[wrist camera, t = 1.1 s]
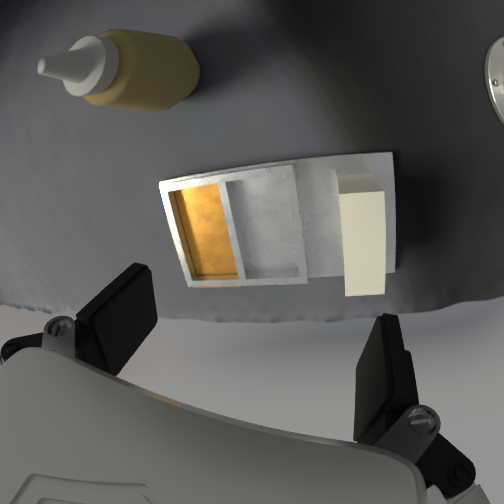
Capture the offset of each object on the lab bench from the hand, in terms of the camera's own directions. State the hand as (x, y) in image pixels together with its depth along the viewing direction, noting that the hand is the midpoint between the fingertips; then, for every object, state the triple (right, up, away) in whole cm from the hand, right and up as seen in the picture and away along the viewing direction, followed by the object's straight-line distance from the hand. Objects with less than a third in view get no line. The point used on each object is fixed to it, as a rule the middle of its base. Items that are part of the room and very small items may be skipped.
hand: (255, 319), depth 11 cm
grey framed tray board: (+3, +6, +20) cm, 21 cm away
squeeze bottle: (-8, +22, +16) cm, 28 cm away
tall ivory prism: (+10, +6, +17) cm, 21 cm away
